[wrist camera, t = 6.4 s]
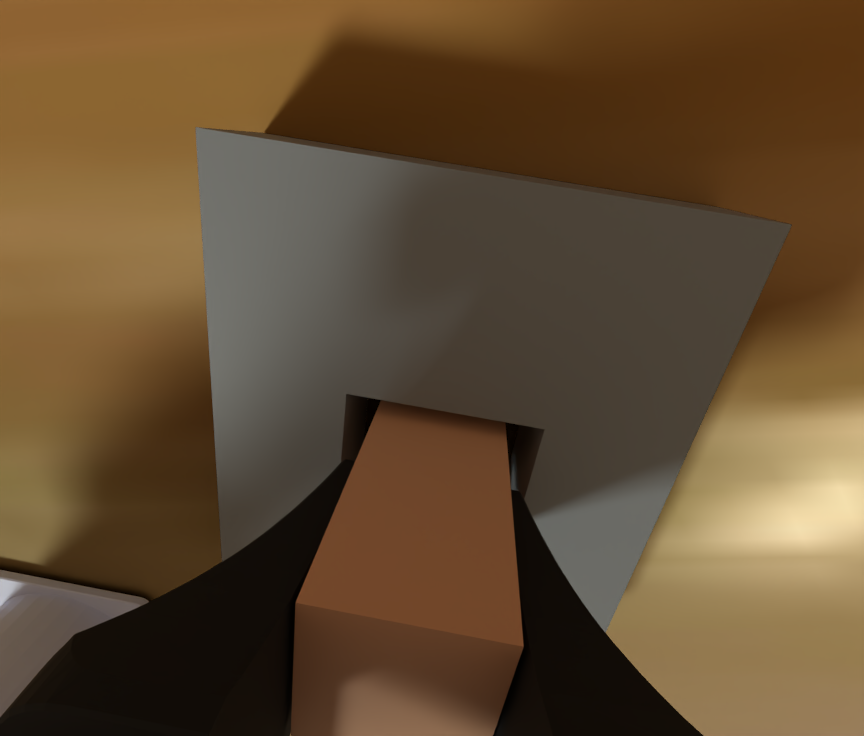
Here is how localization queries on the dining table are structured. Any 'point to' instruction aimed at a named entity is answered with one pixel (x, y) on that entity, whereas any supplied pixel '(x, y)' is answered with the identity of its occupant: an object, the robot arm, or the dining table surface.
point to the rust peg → (413, 586)
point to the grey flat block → (466, 330)
